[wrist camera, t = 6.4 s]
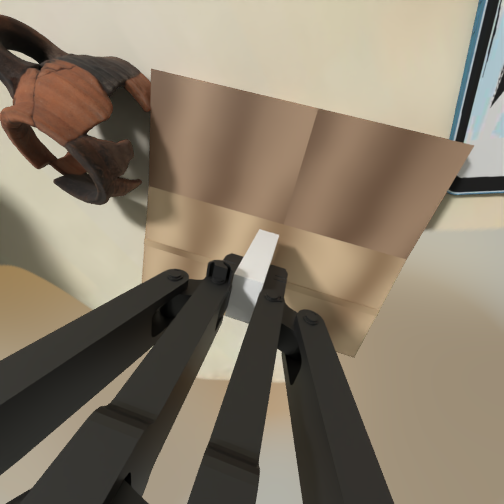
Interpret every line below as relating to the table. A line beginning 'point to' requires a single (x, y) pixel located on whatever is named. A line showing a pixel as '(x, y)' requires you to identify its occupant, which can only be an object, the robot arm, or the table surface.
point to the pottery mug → (67, 110)
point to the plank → (274, 261)
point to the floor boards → (298, 163)
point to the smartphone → (482, 105)
